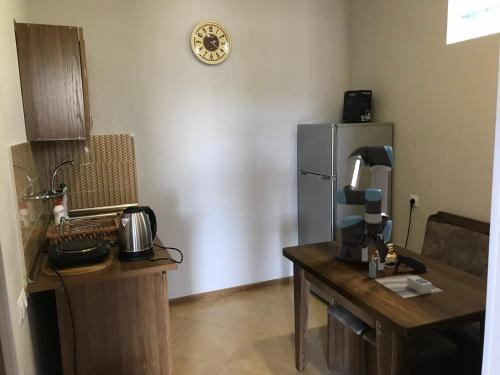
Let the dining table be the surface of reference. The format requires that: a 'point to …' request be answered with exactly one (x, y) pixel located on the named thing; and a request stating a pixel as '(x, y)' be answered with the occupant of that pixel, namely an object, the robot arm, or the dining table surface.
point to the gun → (410, 263)
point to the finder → (419, 284)
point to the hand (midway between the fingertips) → (372, 265)
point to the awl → (372, 268)
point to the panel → (402, 285)
